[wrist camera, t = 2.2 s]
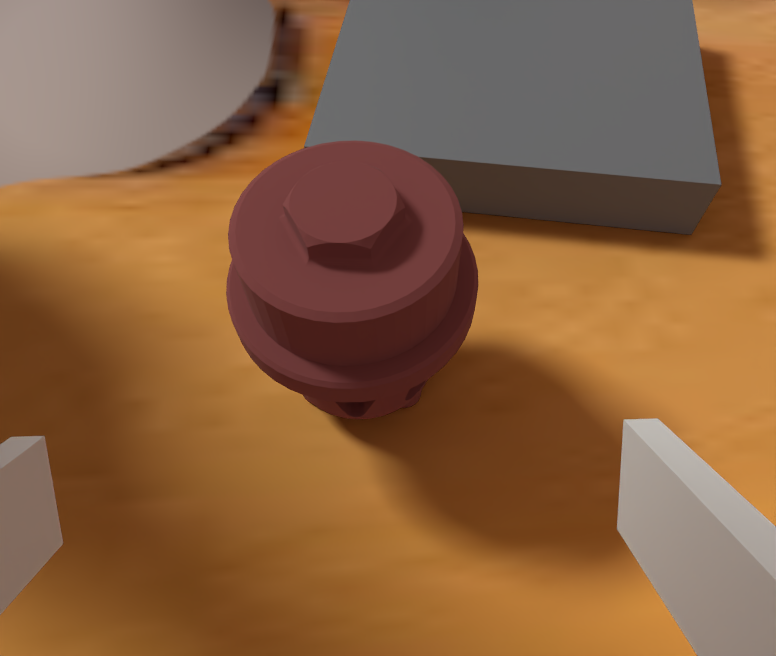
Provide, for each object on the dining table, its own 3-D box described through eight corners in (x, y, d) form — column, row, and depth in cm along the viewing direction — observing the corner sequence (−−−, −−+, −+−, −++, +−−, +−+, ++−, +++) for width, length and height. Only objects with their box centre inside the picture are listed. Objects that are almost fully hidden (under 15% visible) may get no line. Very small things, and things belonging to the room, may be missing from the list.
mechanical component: (250, 458, 30) (279, 284, 35) (463, 467, 29) (461, 289, 34) (163, 320, 19) (224, 99, 24) (496, 331, 19) (486, 103, 24)
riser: (313, 197, 38) (304, 146, 35) (364, 18, 47) (361, -36, 44) (691, 234, 36) (721, 184, 32) (668, 39, 45) (689, -16, 42)
